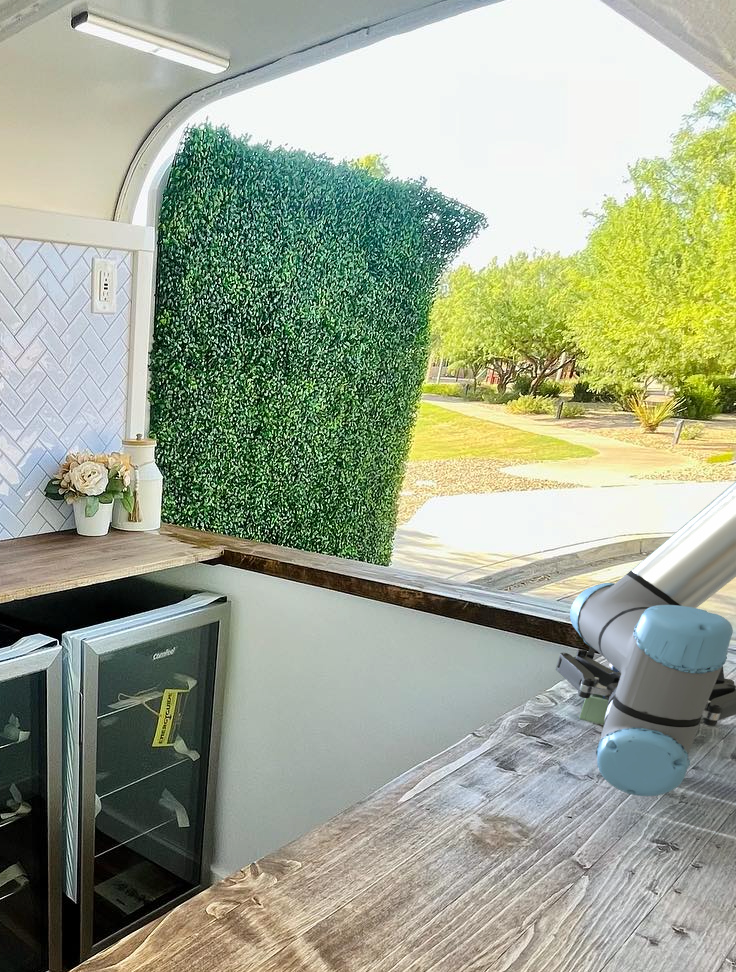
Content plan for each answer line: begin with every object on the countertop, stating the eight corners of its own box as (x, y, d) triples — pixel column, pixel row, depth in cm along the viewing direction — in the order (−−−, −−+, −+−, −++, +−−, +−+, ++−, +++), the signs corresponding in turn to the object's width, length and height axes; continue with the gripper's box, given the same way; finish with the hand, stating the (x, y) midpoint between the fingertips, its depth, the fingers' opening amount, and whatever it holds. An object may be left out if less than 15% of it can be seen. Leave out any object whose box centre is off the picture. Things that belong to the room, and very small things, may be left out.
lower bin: (685, 716, 111) (694, 690, 109) (684, 747, 103) (694, 720, 101) (586, 694, 118) (594, 669, 116) (577, 722, 110) (586, 696, 108)
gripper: (516, 714, 100) (539, 664, 115) (775, 778, 85) (762, 710, 100) (531, 662, 97) (552, 617, 112) (802, 718, 82) (784, 658, 97)
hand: (651, 661), depth 106 cm, fingers open, 13 cm apart
